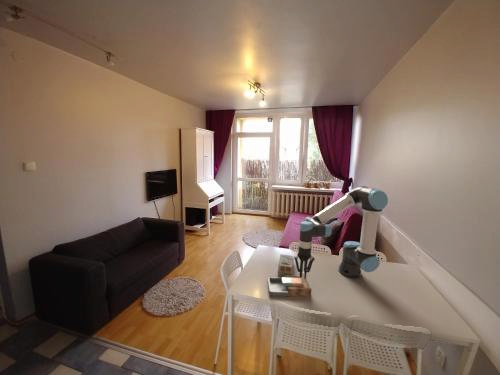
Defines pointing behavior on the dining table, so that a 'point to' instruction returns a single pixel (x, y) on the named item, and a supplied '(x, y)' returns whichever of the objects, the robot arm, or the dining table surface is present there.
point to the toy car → (285, 266)
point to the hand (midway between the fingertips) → (302, 281)
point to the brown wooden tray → (299, 288)
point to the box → (276, 287)
